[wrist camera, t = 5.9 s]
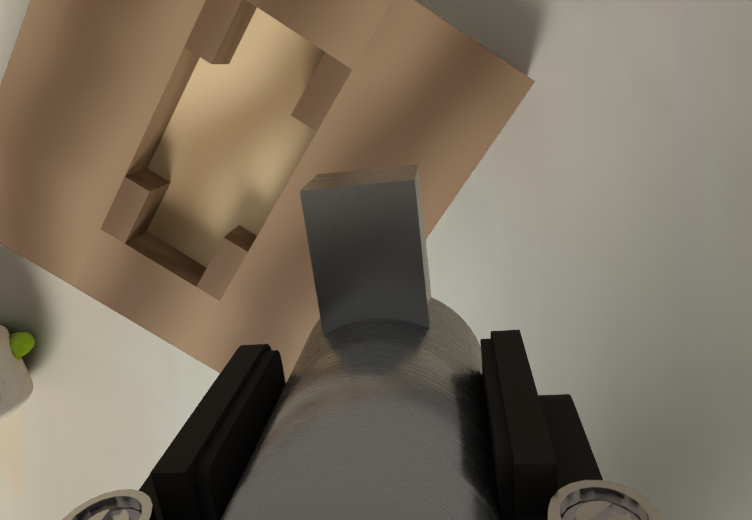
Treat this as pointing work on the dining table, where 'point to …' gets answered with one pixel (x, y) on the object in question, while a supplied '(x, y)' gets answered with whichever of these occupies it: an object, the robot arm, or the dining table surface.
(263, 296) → the socket plate
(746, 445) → the dining table surface
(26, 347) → the roller toy
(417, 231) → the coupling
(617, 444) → the dining table surface
